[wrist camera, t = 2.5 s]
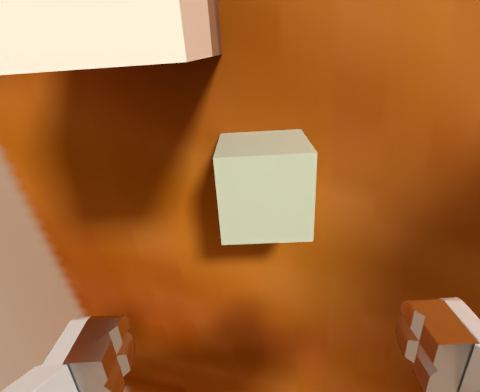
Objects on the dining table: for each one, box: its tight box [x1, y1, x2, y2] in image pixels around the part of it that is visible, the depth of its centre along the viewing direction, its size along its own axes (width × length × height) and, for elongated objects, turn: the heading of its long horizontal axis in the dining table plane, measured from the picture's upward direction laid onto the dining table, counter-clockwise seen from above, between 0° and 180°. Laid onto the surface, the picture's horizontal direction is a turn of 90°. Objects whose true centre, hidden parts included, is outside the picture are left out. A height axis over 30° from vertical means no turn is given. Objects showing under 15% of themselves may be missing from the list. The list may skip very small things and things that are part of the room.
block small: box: [213, 129, 317, 245], centre depth 18 cm, size 5×5×5 cm
